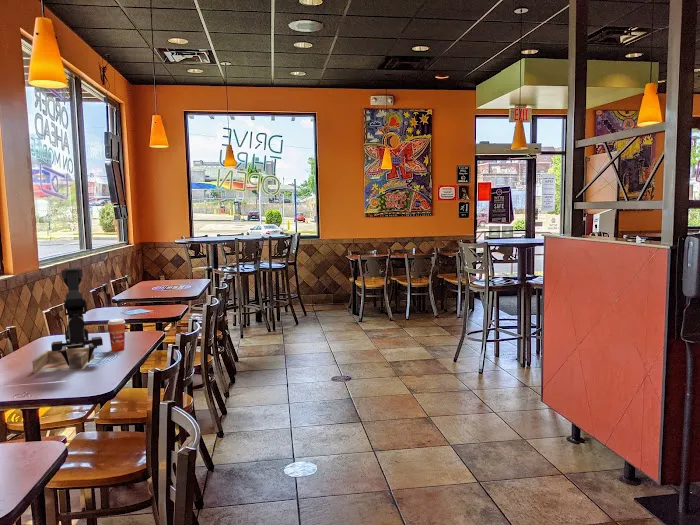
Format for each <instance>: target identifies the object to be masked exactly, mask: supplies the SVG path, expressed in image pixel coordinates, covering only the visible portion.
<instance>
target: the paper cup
mask: <svg viewBox="0 0 700 525" xmlns="http://www.w3.org/2000/svg"><path fill="white" fill-rule="evenodd" d="M107 325H108V334H109V342H110V347H111V348H110V350H111V351H112V352H121V351H124V350H125V349H126V348H125V345H126V344H125V341H126V340H125V338H126V336H125V335H126V334H125V332H126V331H125V330H126V329H125V328H126V326H125V325H126V321H125V319H124V318H112V319H109V320H108V322H107Z"/></svg>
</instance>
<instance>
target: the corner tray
mask: <svg viewBox="0 0 700 525" xmlns="http://www.w3.org/2000/svg"><path fill="white" fill-rule="evenodd" d="M66 351H67V355H68V360H69V358H70V357H71V356H72V355H73V354H74V353H75V352H87V359H88V351H89V346H88V347H85V348H74V349H67V348H66ZM94 352H95V350H94V351H93V353H92V356H91V359H90V362H89V363H88V362H87V363H86V364H85V365H84V366H83V367H82V369H81V370H85V369H86V368H87V367H88V366H89V365H90V364H91V362H92V361H93V360H94V359H95V353H94ZM31 363H32V373H33V374H36V373H37V374H39V373H40V374H41V373H52V372H62V371H63V372H64V371H77V370H79V369H69V366H68V365H67V362H66V360H65V358H64V357H63V355H62V354H61V353H58V351H52V349H48V350H45V351H43V352H42V353H40V355H38V356H37V357H36V358H34V359H33V360H32V362H31Z"/></svg>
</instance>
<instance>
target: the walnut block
mask: <svg viewBox="0 0 700 525" xmlns="http://www.w3.org/2000/svg"><path fill="white" fill-rule="evenodd" d="M87 362H88V359H87V352H75V353H74V354H73V355H72V356H71V357H70V358H69V369H78V370H83V369H82V367H83V366H84V365H85V364H86V363H87Z"/></svg>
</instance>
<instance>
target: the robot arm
mask: <svg viewBox="0 0 700 525" xmlns="http://www.w3.org/2000/svg"><path fill="white" fill-rule="evenodd" d="M83 277H84V273H83V269H82V268H80V267H64V268H63V270H61V279H62V280H63V283H64V284H65V286H66V288H67V290H68V291H67V293H66V294H65V300H63V305H64V306H63V307H64V316H67V326H66V330H65V331H64V339H65V342H63V340H61V341H60V340H59V341H52V342H51V343H50V344H51V345H50V346H51V349H50V350H52V351H58V353H61V354H62V355H63V357H64V358H65V360H66V362H67V365H68V366H69V360H68V355H67V351H66V349H74V348H86V346H87V345H88V347H89V351H88V363H89V362H90V359H91V356H92V353H93V351H94V352H95V349H97V348H98V347H101V346H103V345H104V341H103V337H101V336H95V337H93V336H92V337H91V339H89V331H88V330H87V328H86V327H85V319H84V315H86V314H87V312H88V304H87V300H86V298H84V297H83V296H84V295H83V293H81V292H80V289H79V288H80V287H79V286H80V284H81V282H82V278H83ZM90 363H91V362H90ZM90 363H89V364H90Z"/></svg>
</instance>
